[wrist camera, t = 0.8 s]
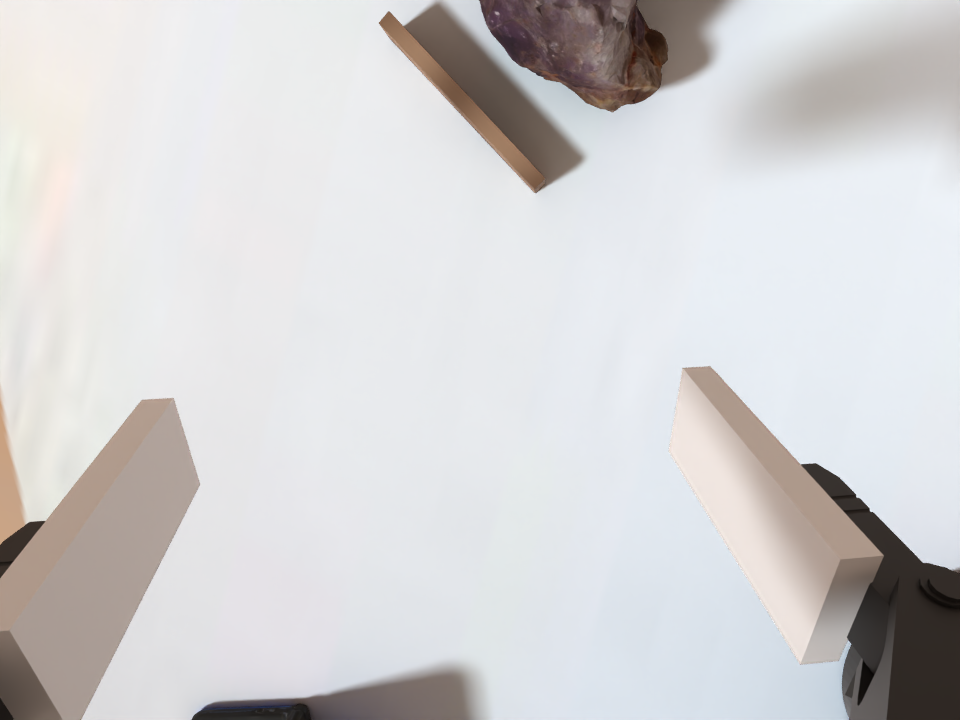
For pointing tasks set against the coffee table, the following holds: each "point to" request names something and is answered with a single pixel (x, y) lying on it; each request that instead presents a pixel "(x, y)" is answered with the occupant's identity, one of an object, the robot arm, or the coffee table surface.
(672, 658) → the coffee table surface
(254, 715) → the handheld game console
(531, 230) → the coffee table surface
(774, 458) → the robot arm
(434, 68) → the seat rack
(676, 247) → the coffee table surface
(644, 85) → the rock
